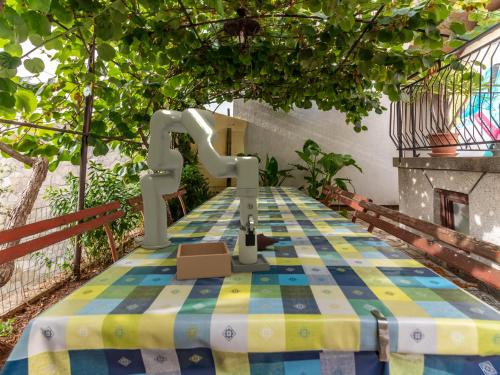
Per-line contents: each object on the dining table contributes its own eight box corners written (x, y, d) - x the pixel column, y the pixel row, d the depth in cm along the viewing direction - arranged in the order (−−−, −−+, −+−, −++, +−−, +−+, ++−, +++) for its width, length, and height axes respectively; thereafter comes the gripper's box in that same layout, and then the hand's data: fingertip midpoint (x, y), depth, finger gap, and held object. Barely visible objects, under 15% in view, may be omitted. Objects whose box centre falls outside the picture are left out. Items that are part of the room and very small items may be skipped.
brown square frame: (177, 279, 98) (176, 257, 97) (179, 263, 114) (179, 244, 113) (230, 275, 100) (230, 254, 100) (225, 260, 117) (225, 241, 116)
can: (255, 265, 108) (254, 230, 107) (236, 264, 109) (236, 230, 108) (258, 259, 114) (258, 226, 113) (241, 258, 115) (240, 226, 114)
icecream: (281, 232, 132) (247, 233, 137) (276, 232, 126) (241, 233, 130) (281, 249, 131) (247, 250, 136) (277, 249, 124) (241, 250, 129)
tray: (233, 273, 103) (233, 266, 103) (229, 261, 115) (229, 255, 115) (269, 270, 105) (269, 263, 105) (262, 259, 117) (262, 253, 117)
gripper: (263, 195, 100) (263, 248, 102) (253, 190, 117) (253, 236, 119) (240, 195, 99) (240, 249, 100) (233, 190, 116) (233, 236, 117)
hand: (247, 242), depth 109 cm, fingers open, 9 cm apart
